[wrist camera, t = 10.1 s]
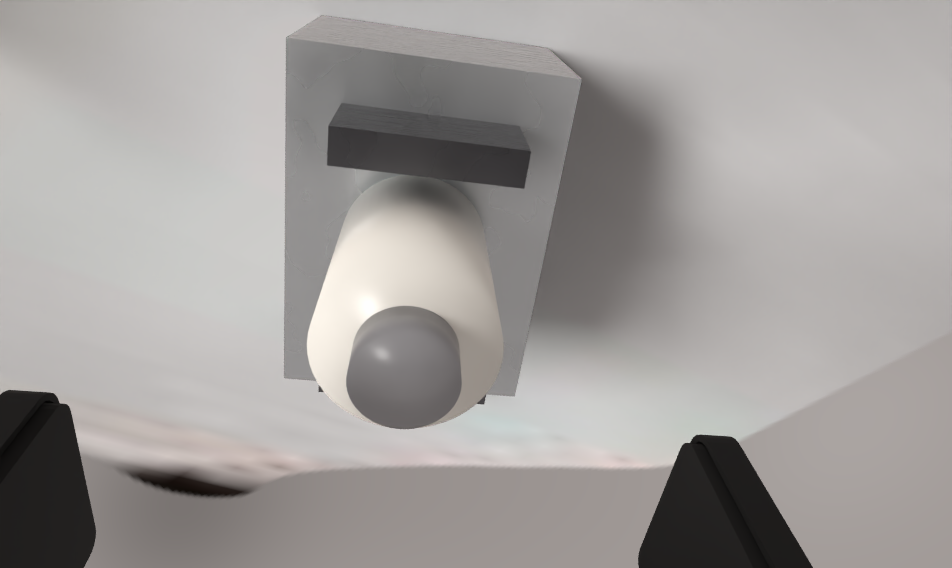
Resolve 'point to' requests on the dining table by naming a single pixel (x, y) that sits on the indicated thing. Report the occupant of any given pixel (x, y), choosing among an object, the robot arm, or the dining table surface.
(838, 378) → the dining table surface
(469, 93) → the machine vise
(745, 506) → the robot arm
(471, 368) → the bottle
